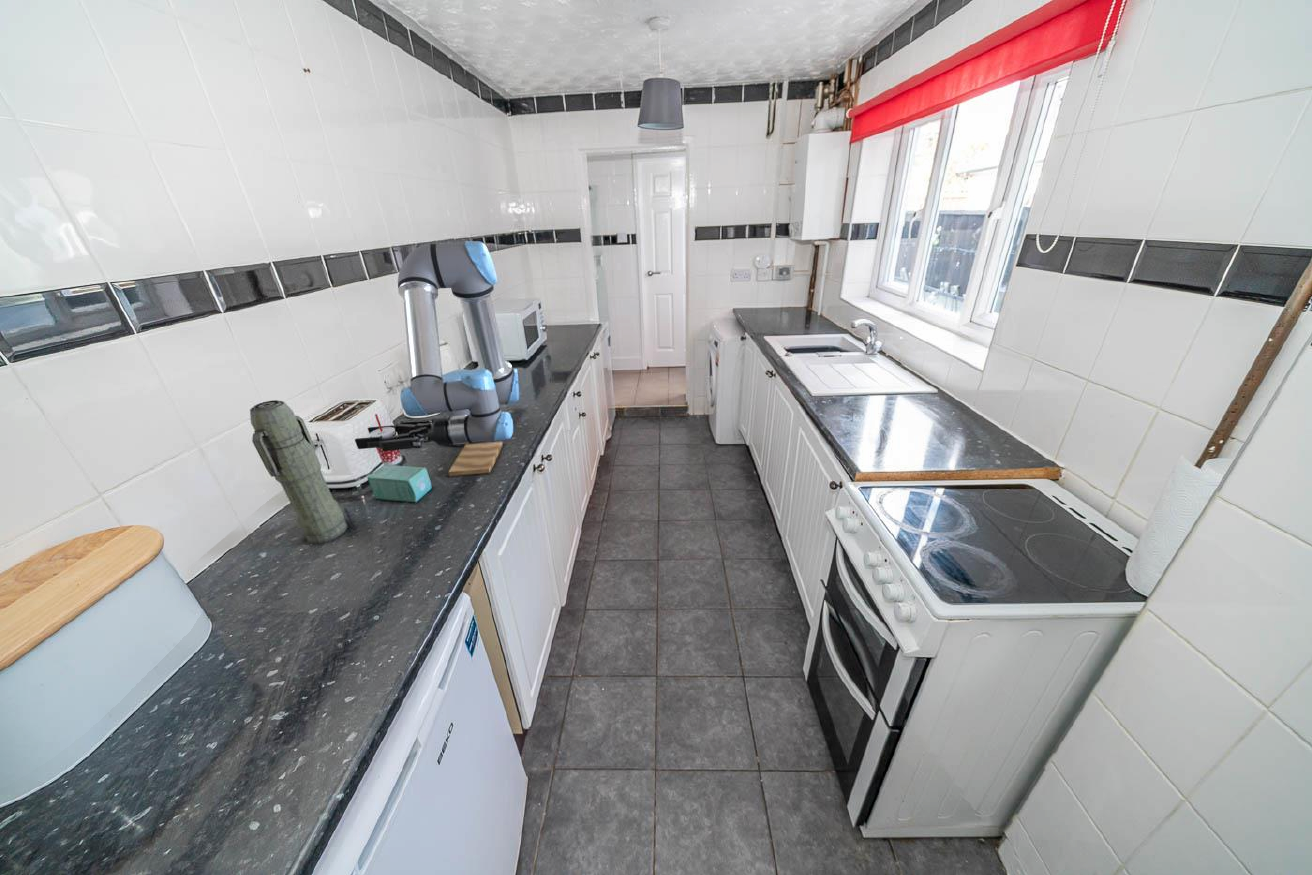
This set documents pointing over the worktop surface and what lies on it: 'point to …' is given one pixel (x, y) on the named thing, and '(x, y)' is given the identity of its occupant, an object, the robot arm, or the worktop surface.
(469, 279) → the robot arm
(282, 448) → the thermos
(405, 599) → the worktop surface
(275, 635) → the worktop surface
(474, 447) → the chopping board
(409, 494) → the box
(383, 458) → the beverage cup
